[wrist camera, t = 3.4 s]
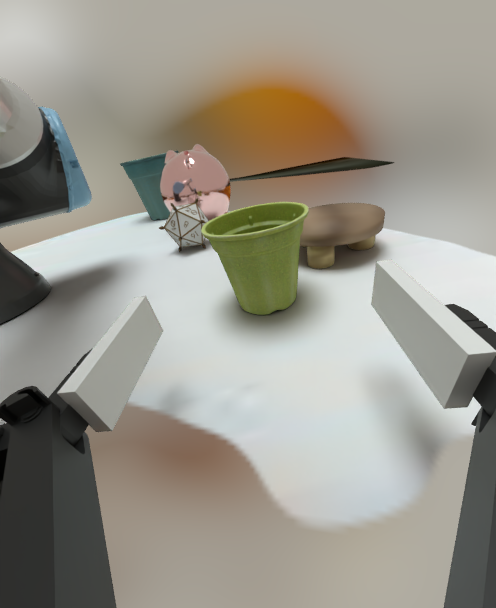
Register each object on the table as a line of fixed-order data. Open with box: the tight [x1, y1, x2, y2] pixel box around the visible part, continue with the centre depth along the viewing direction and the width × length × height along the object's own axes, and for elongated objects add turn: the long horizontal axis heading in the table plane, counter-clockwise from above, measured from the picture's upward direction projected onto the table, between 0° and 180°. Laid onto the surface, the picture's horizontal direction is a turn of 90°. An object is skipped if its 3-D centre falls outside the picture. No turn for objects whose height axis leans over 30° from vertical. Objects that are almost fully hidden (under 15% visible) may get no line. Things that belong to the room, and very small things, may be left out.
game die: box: [159, 198, 209, 251], centre depth 42 cm, size 9×8×10 cm
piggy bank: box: [160, 144, 231, 221], centre depth 53 cm, size 15×18×16 cm
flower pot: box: [120, 151, 178, 220], centre depth 72 cm, size 16×16×16 cm
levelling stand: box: [300, 203, 385, 269], centre depth 31 cm, size 12×12×4 cm
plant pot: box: [201, 202, 309, 315], centre depth 23 cm, size 9×9×9 cm
